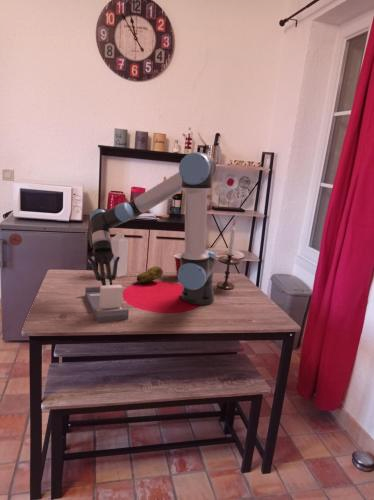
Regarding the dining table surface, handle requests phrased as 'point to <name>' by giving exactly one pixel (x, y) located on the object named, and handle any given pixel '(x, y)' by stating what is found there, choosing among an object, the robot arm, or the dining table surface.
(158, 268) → the potato
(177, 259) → the plastic cup
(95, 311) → the fader deck
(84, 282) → the dining table surface
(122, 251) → the milk
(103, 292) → the fader knob
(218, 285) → the candlestick
